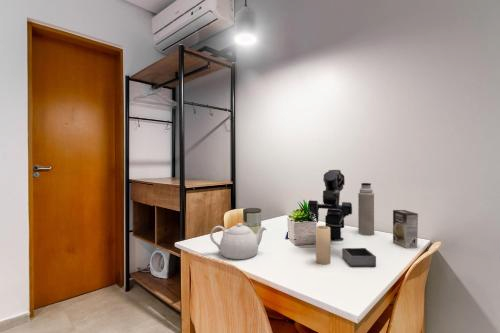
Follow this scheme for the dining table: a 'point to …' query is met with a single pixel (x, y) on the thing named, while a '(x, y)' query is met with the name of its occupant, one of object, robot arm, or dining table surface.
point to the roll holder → (358, 257)
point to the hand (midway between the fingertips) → (327, 223)
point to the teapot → (238, 241)
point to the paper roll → (323, 245)
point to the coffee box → (405, 228)
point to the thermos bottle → (366, 210)
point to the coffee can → (252, 219)
